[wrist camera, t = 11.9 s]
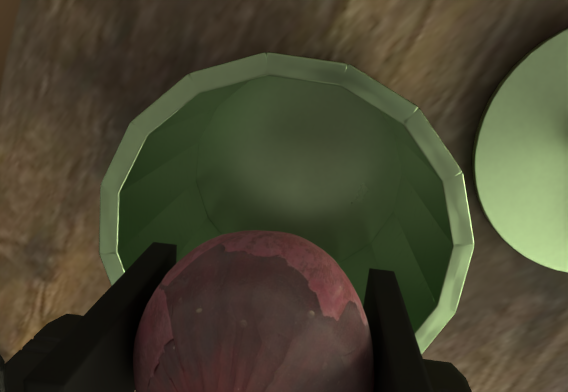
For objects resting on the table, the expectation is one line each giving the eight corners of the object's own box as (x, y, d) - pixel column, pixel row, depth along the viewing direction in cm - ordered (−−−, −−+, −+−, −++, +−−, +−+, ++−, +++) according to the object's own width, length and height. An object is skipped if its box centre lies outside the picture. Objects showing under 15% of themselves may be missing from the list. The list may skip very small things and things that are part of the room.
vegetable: (223, 380, 17) (84, 809, 7) (152, 228, 15) (-143, 511, 6) (386, 336, 16) (481, 772, 6) (326, 168, 14) (328, 394, 5)
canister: (254, 10, 27) (201, -28, 15) (458, 136, 28) (555, 191, 17) (151, 208, 32) (46, 298, 20) (332, 312, 33) (337, 457, 21)
